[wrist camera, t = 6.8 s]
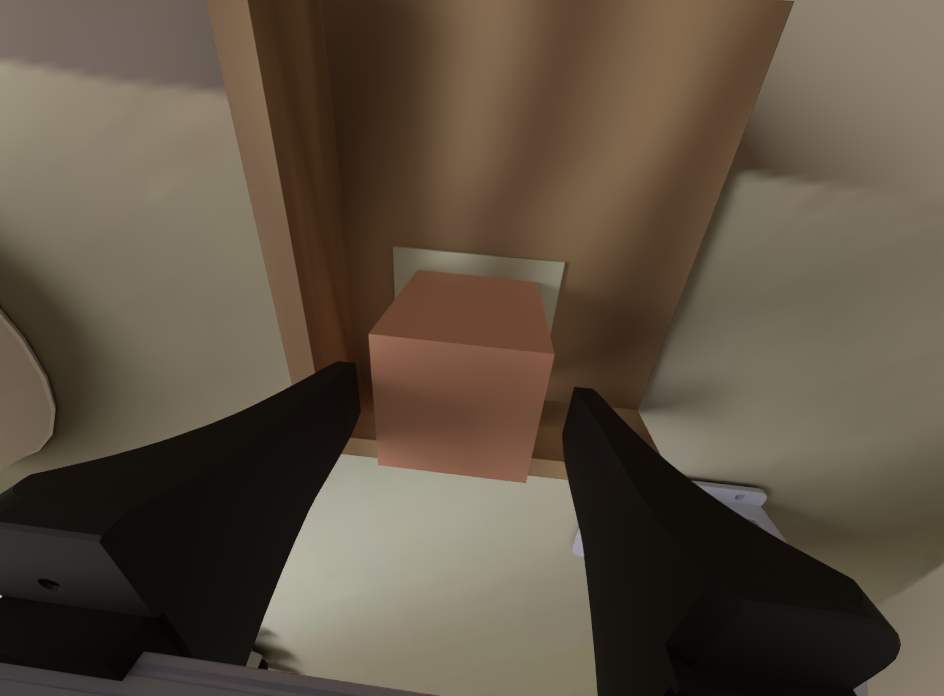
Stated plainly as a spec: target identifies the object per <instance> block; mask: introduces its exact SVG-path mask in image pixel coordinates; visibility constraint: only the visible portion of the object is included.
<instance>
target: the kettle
mask: <svg viewBox="0 0 944 696" xmlns="http://www.w3.org/2000/svg"><path fill="white" fill-rule="evenodd" d="M55 411H56V405H55V401H54V398H53V394H52V391H51V387H50V384H49V380H48V377H47V374H46V373H45V371H44V369H43V368H42V366H41V364H40V363H39V361H38V359H37V358H36V356H35V354H34V352H33V351H32V349H31V347H30V346H29V344H28V342H27V341H26V339H25V337H24V336H23V335H22V334H21V332H20V331H19V330H18V329H17V328H16V327H15V325H14V324H13V323H12V322H11V321H10V319H9V318H8V317H7V316H6V315H5V314H4V312H3V311H2V310H1V309H0V470H1V469H3V468H5V467H7V466H9V465H11V464H12V463H14V462H16V461H18V460H20V459H22V458H24V457H25V456H28V455H30V454H33V453H35V452H38V451H40V449H41V448H42V447H43V446H44V444H45V443H46V442H47V441H48V440H49V438H50V437H51V436H52V434H53V427H54V419H55Z"/></svg>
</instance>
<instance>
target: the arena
mask: <svg viewBox="0 0 944 696" xmlns="http://www.w3.org/2000/svg"><path fill="white" fill-rule="evenodd" d="M793 3H794V1H784V0H206V4H207V8H208V13H209V17H210V21H211V26H212V31H213V35H214V39H215V44H216V48H217V53H218V57H219V62H220V66H221V70H222V75H223V79H224V84H225V88H226V93H227V97H228V102H229V106H230V111H231V115H232V120H233V124H234V128H235V133H236V137H237V142H238V146H239V151H240V155H241V160H242V164H243V169H244V173H245V177H246V182H247V186H248V191H249V195H250V200H251V204H252V209H253V213H254V217H255V222H256V226H257V231H258V235H259V240H260V244H261V249H262V253H263V258H264V262H265V266H266V271H267V275H268V280H269V284H270V289H271V293H272V298H273V302H274V306H275V311H276V315H277V320H278V324H279V329H280V333H281V338H282V342H283V347H284V351H285V355H286V360H287V364H288V369H289V373H290V378H291V382H292V385H294V384H296V383H298V382H300V381H301V380H303V379H305V378H307V377H309V376H310V375H312V374H314V373H316V372H318V371H319V370H321V369H323V368H325V367H327V366H329V365H331V364H333V363H335V362H337V361H342V362H351V363H356V371H357V380H358V389H359V399H360V408H361V413H360V415H359V418H358V420H357V423H356V426H355V428H354V430H353V433H352V435H351V437H350V439H349V441H348V443H347V445H346V446H345V448H344V450H343V452H342V453H341V454H348V455H357V456H365V457H374V458H378V453H377V440H376V427H375V413H374V400H373V387H372V374H371V361H370V348H369V333H370V331H371V330H372V329H373V327H374V326H375V325H376V323H377V322H378V321H379V320H380V318H381V317H382V316H383V314H384V313H385V312H386V310H387V309H388V308H389V306H390V305H391V304H392V303H393V301H394V300H395V299H396V297H397V296H398V295H399V293H400V292H401V291H402V290H403V288H404V287H405V286H406V284H407V283H408V282H409V280H410V279H411V278H412V277H413V275H414V274H415V273H416V271H417V270H424V271H434V272H443V273H453V274H463V275H473V276H483V277H492V278H502V279H512V280H522V281H531V282H537V285H538V289H539V293H540V297H541V301H542V305H543V309H544V313H545V317H546V321H547V325H548V329H549V333H550V337H551V341H552V345H553V349H554V353H555V355H554V360H553V364H552V369H551V373H550V377H549V382H548V386H547V391H546V395H545V400H544V404H543V408H542V413H541V417H540V422H539V426H538V431H537V435H536V439H535V444H534V448H533V453H532V457H531V462H530V466H529V470H528V475H529V476H538V477H547V478H555V479H564V480H568V477H567V472H566V468H565V463H564V453H563V442H562V432H563V428H564V425H565V421H566V417H567V413H568V409H569V405H570V401H571V397H572V394H573V390H574V387H582V388H591V389H594V390H595V391H596V392H597V393H598V394H599V395H600V396H601V397H602V398H603V399H604V400H605V401H606V402H607V403H608V404H609V405H610V407H611V408H612V409H613V410H614V411H615V412H616V413H617V414H618V415H619V416H620V417H621V418H622V419H623V420H624V421H625V422H626V423H627V424H628V425H629V426H630V427H631V428H632V429H633V430H634V431H635V432H636V433H637V434H638V435H639V436H640V437H641V438H642V439H643V440H644V441H645V442H646V443H647V444H648V445H649V446H650V447H652V448H653V449H654V450H655V451H656V452H657V453H658V454H659V455H660V453H659V451H658V449H657V447H656V445H655V444H654V442H653V440H652V438H651V436H650V434H649V432H648V430H647V428H646V426H645V424H644V422H643V420H642V418H641V416H640V414H639V413H638V411H637V409H638V406H639V404H640V401H641V398H642V396H643V393H644V391H645V388H646V385H647V383H648V380H649V378H650V375H651V372H652V370H653V367H654V365H655V362H656V359H657V357H658V354H659V352H660V349H661V346H662V344H663V341H664V339H665V336H666V333H667V331H668V328H669V326H670V323H671V320H672V318H673V315H674V313H675V310H676V307H677V305H678V302H679V300H680V297H681V294H682V292H683V289H684V287H685V284H686V281H687V279H688V276H689V274H690V271H691V268H692V266H693V263H694V261H695V258H696V255H697V253H698V250H699V248H700V245H701V242H702V240H703V237H704V235H705V232H706V229H707V227H708V224H709V222H710V219H711V216H712V214H713V211H714V209H715V206H716V203H717V201H718V198H719V196H720V193H721V190H722V188H723V185H724V183H725V180H726V177H727V175H728V172H729V170H730V167H731V164H732V162H733V159H734V157H735V154H736V151H737V149H738V146H739V144H740V141H741V138H742V136H743V133H744V130H745V128H746V125H747V123H748V120H749V118H750V115H751V112H752V110H753V107H754V104H755V102H756V99H757V97H758V94H759V91H760V89H761V86H762V84H763V81H764V78H765V76H766V73H767V70H768V68H769V66H770V63H771V60H772V58H773V55H774V52H775V50H776V47H777V45H778V42H779V39H780V36H781V34H782V32H783V29H784V27H785V24H786V21H787V19H788V16H789V14H790V11H791V8H792V6H793ZM660 456H661V455H660Z"/></svg>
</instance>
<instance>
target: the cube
mask: <svg viewBox="0 0 944 696" xmlns="http://www.w3.org/2000/svg"><path fill="white" fill-rule="evenodd" d="M369 348H370V361H371V374H372V387H373V400H374V413H375V427H376V440H377V453H378V465H383V466H392V467H400V468H408V469H416V470H424V471H432V472H440V473H448V474H457V475H465V476H473V477H481V478H489V479H497V480H505V481H513V482H522V483H526V479H527V475H528V470H529V466H530V462H531V457H532V453H533V448H534V444H535V439H536V435H537V431H538V426H539V422H540V417H541V413H542V408H543V404H544V400H545V395H546V391H547V386H548V382H549V377H550V373H551V369H552V364H553V360H554V355H555V353H554V349H553V345H552V341H551V337H550V333H549V329H548V325H547V321H546V317H545V313H544V309H543V305H542V301H541V297H540V293H539V289H538V285H537V282H531V281H522V280H512V279H502V278H492V277H483V276H473V275H463V274H453V273H443V272H434V271H424V270H417V271H416V273H415V274H414V275H413V277H412V278H411V279H410V280H409V282H408V283H407V284H406V286H405V287H404V288H403V290H402V291H401V292H400V293H399V295H398V296H397V297H396V299H395V300H394V301H393V303H392V304H391V305H390V306H389V308H388V309H387V310H386V312H385V313H384V314H383V316H382V317H381V318H380V320H379V321H378V322H377V323H376V325H375V326H374V327H373V329H372V330H371V331H370V333H369Z"/></svg>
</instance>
